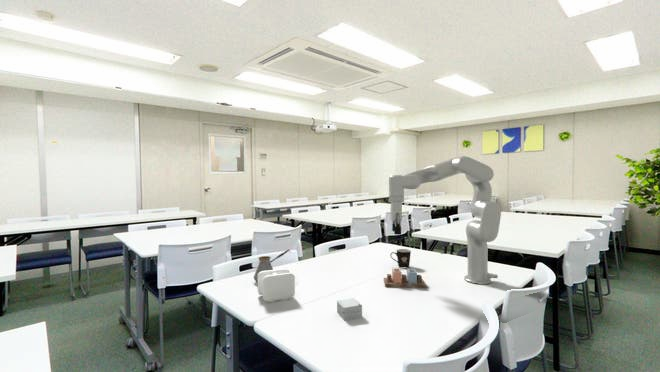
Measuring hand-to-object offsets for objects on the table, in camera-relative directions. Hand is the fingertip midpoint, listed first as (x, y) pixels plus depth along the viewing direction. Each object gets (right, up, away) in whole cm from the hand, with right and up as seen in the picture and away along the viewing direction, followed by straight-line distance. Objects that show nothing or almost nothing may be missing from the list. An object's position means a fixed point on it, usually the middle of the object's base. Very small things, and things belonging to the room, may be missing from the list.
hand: (396, 232), depth 158 cm
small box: (-26, -28, -36) cm, 52 cm away
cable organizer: (-59, -27, -16) cm, 67 cm away
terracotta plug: (0, -25, 0) cm, 25 cm away
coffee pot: (-65, -27, +8) cm, 70 cm away
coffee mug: (+10, -26, +33) cm, 43 cm away
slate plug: (+8, -25, 0) cm, 26 cm away
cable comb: (+4, -26, 0) cm, 27 cm away
